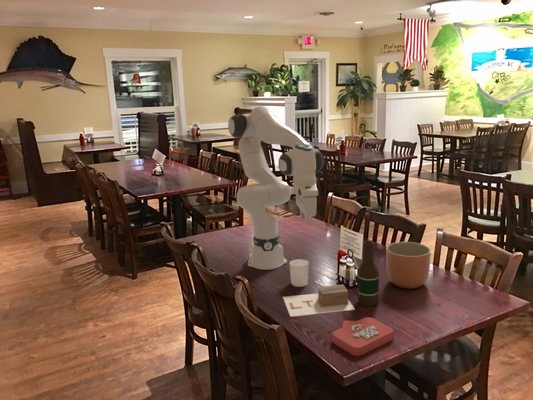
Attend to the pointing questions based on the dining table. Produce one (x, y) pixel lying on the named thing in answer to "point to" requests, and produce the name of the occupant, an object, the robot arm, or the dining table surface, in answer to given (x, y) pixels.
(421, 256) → the planter
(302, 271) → the white cup
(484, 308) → the dining table surface
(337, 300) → the walnut bar
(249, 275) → the dining table surface
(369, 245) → the beer bottle
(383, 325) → the plaque
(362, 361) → the dining table surface
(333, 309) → the board
